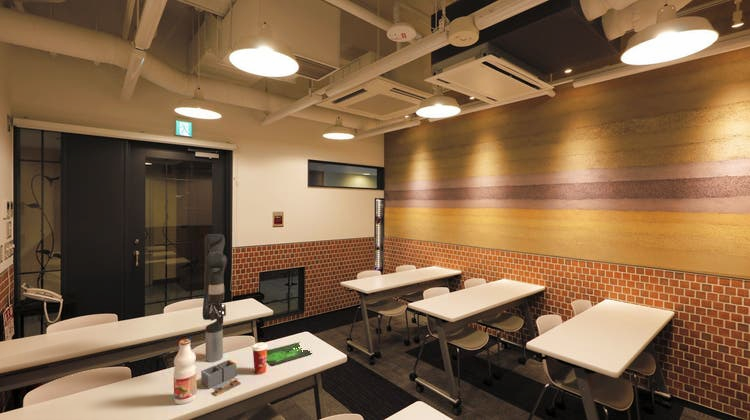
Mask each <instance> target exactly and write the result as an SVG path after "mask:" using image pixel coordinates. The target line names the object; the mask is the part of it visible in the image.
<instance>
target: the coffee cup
mask: <svg viewBox="0 0 750 420" xmlns="http://www.w3.org/2000/svg"><path fill="white" fill-rule="evenodd" d="M268 347H269V346H268V343H266V342H262V341H261V342H257V343H254V344H253V345H252V349H251V350H252V354H253V355H252V357H253V371H254V374H256V375H263V374H265V373H266V372H267V371H266V370H267V363H268V362H267V350H268V349H269V348H268Z"/></svg>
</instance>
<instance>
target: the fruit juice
mask: <svg viewBox="0 0 750 420" xmlns="http://www.w3.org/2000/svg"><path fill="white" fill-rule="evenodd" d="M191 341H192V340H191V339H190V338H185V339H181V340H179V342H178V346H179V349H178V352H177V354H176V355H175V357H174V358H173V359H174V360H173V365H174V370H173V401H174V403H175V404H176V405H185V404H188V403H190V402H192V401H194V400H195V399H196V398H197V394H198V393H197V392H198V389H197V382H198V381H197V366H196V360H197V356H196V353H195V352H194V351H193V350H192V348H191V344H192V342H191Z"/></svg>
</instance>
